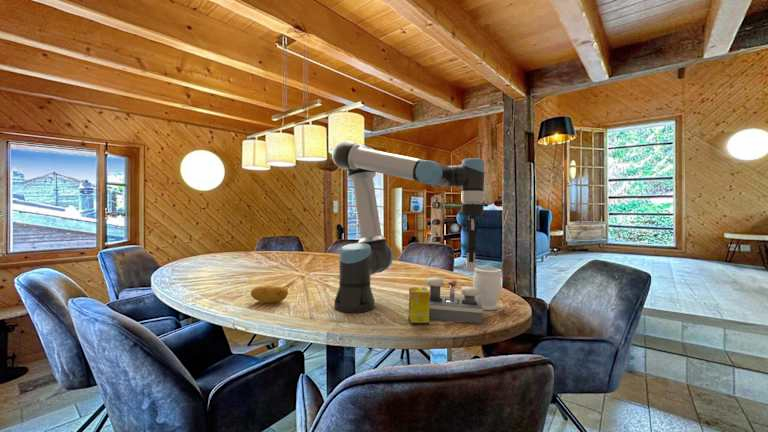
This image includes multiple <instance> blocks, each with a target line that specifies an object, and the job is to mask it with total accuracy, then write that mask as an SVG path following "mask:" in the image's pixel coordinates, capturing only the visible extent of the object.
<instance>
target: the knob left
mask: <svg viewBox="0 0 768 432" xmlns="http://www.w3.org/2000/svg"><path fill="white" fill-rule="evenodd" d="M426 283H427V286H429V292H430V299H433V300H439V299H440V296H441V287H443V286H444V278H442V277H436V276H435V277H434V276H433V277H432V276H431V277H428V278H427V282H426Z"/></svg>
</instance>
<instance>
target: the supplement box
mask: <svg viewBox="0 0 768 432" xmlns="http://www.w3.org/2000/svg"><path fill="white" fill-rule="evenodd" d="M408 292H409V293H408V320H409V322H410V325H411V326H426V325H427V326H428V325H430V319H429V303H430V290H429V289H427V287H425V286H424V287H421V286H420V287H417V286H415V287H408Z"/></svg>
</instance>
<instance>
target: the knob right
mask: <svg viewBox="0 0 768 432" xmlns="http://www.w3.org/2000/svg"><path fill="white" fill-rule="evenodd" d="M460 292H461V293H460V294H461V295H463V296H464V304H470V305H475V296H477V295H478V288H476V287H473V286H469V285H468V286H466V285H465V286H461V291H460Z"/></svg>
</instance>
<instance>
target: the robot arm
mask: <svg viewBox="0 0 768 432" xmlns="http://www.w3.org/2000/svg"><path fill="white" fill-rule="evenodd" d="M331 156H332V157H331V158H332V161H333V163H334V164H335V165H336V167H338V168H339V169H341V170H344V171H347V175H348V179H349V180H351V181H352V186H353V191H354V198H355V199H354V200H355V207H356V213H357V219H358V225H359V226H358V227H359V233H360V239H359V240H358V242H354V243H349V244H348V243H347V244H345V245H343V246H342V247H341V248H340V250H339V252H340V253H339V258H338V260H339V285H338V290H337V292H336V295H335V298H334V306H333V307H334V309H336V310H337V311H339V312H344V313H354V314H355V313H364V312H369V311H371V310H373V309H375V306H376V305H375V304H376V303H375V301H376V300H375V298H374V294H373V291H372V288H371V275H375V274H377V273H382V272H384V271H386V270H387V269H389V268H390V266H391V265H392V263H393V261H394V253H393V249H392V248H391V246H389V244H387V239H386V237H385V236H383V234H382V229H381V223H380V222H381V221H380V217H379V211H378V204H377V203H378V202H377V195H376V189H375V185H374V177H375V176H376V174H377V173H378V174H379V173H380V174H384V175H388V176H392V177H396V178H401V179H405V180H411V181H415V182H418V183H422V184H424V185H428V186H431V187H433V188H447V187H448V188H449V187H457V188H459V187H461V193H460V194H461V195H460V196H461V197H460V200H461V201H460V202H461V203H462V204H461V206H460V214H461V215H462V216H463V215H464V216H467V217H468V218H467V219H466V220H465V225H466V226H465V227H466V233H467V237H466V250H465V253H466V271H467V272H475V267H476V252H478V250H477V249H476V244H477V234H478V233H477V232H478V226H479V220H478V219H477V216H482V215H484V206H485V205H483V204H482V203H484V199H485V197H486V194H485V193H484V191H485V189H484V188H485V173H486V171H485V160H484V159H482V158H478V157H475V158H474V157H472V158H471V157H469V158H464V159H462V162H461V164H458V165H445V164H443V163H439V162H437V161H434V160H429V159H427V160H426V159H420V158H417V157H413V156H412V157H410V156H405V155H401V154H396V153H390V152H385V151H381V150H375V149H374V148H372V147H371V146H369V145H367V144H363V143H362V144H361V143H359V142H355V141H353V140H352V141H351V140H341V141H338V142H337V143H336V144H335V145H334V147H333V149H332V151H331Z"/></svg>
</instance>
